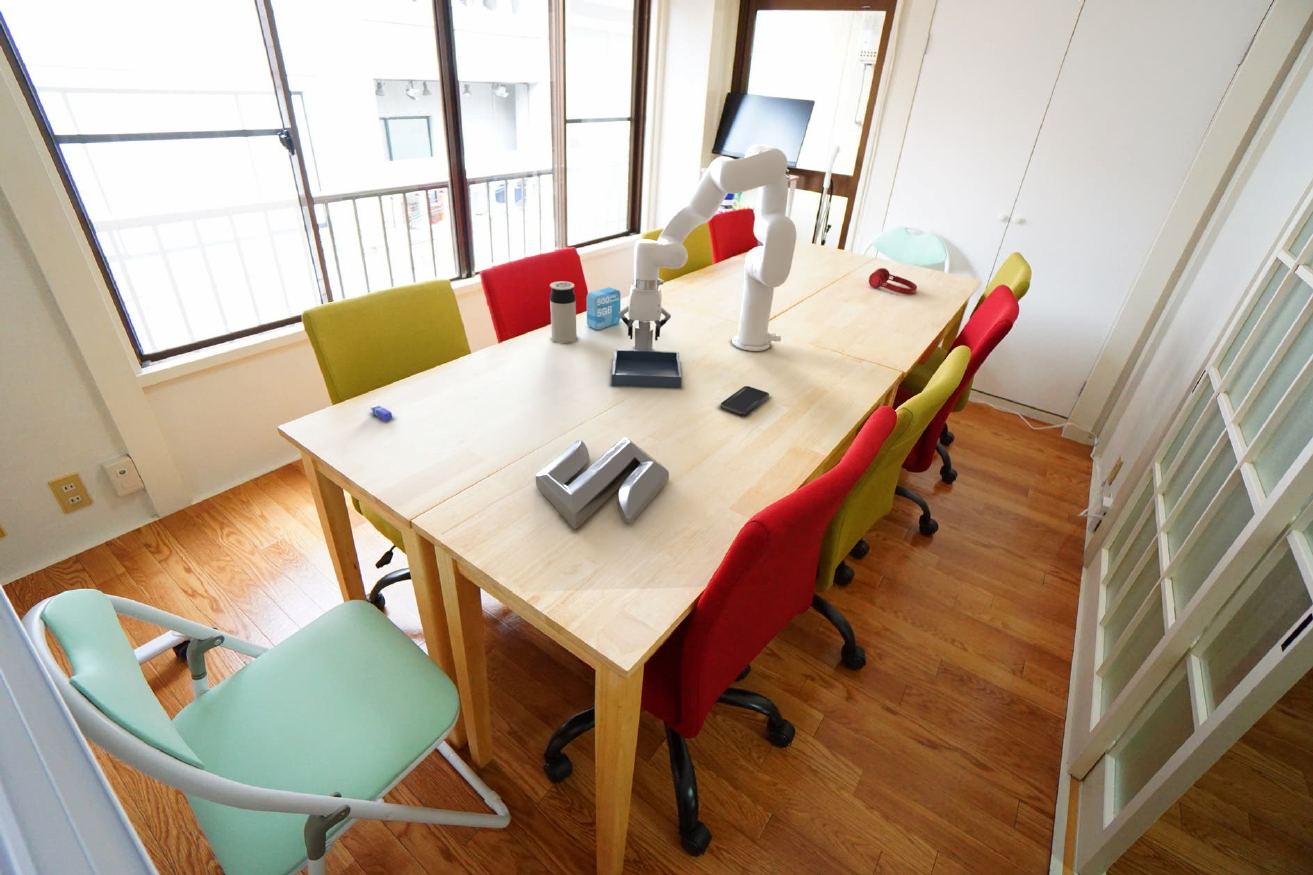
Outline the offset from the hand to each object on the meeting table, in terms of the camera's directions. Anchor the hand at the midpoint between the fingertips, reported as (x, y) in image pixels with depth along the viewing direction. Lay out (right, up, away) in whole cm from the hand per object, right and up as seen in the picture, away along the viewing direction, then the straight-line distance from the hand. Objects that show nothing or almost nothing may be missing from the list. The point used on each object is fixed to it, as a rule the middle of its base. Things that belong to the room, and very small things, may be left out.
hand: (643, 338), depth 183 cm
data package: (-14, +8, +19) cm, 25 cm away
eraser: (-63, -27, -41) cm, 80 cm away
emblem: (-7, -42, -61) cm, 75 cm away
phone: (+28, -22, -26) cm, 44 cm away
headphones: (+109, +34, +73) cm, 135 cm away
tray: (+1, -13, -13) cm, 18 cm away
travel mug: (-26, +1, +6) cm, 27 cm away
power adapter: (0, -3, +2) cm, 4 cm away
